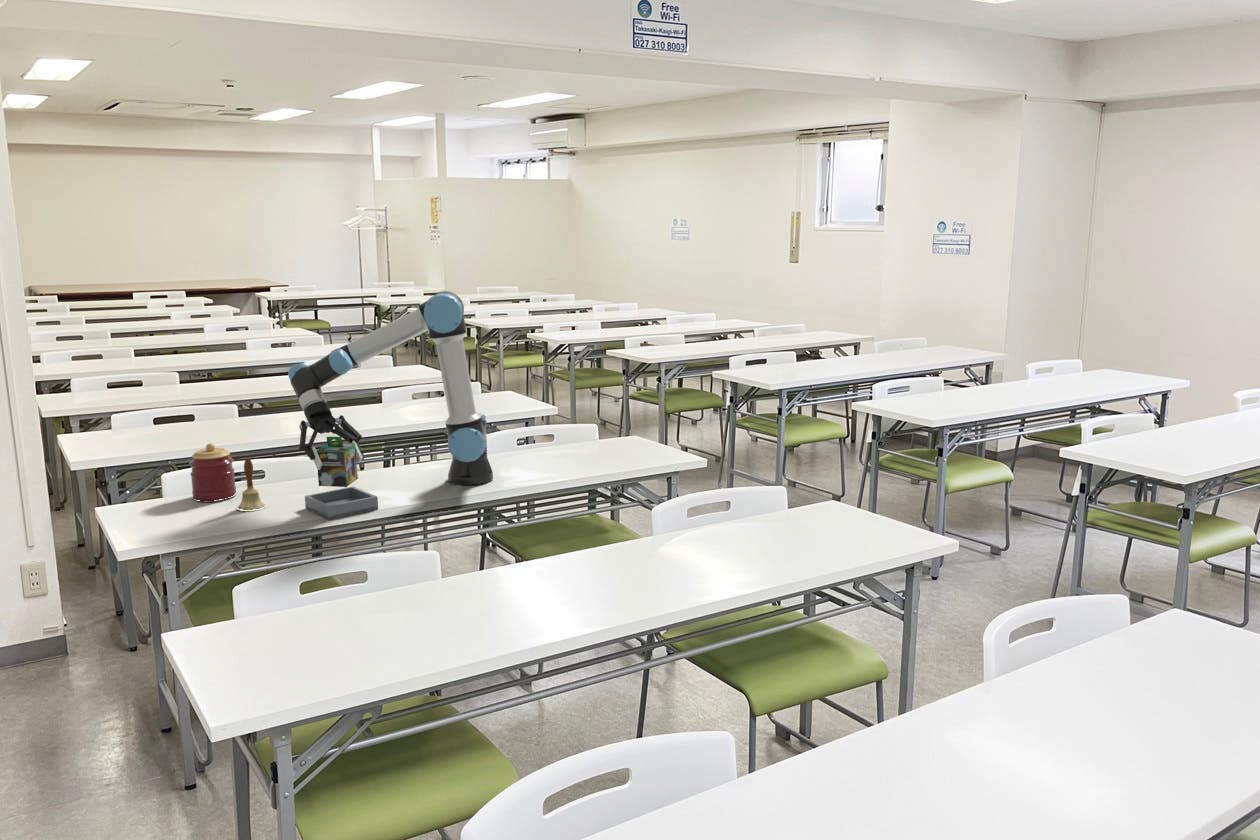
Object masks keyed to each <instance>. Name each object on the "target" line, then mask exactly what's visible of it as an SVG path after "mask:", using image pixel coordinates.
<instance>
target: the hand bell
mask: <svg viewBox="0 0 1260 840" xmlns="http://www.w3.org/2000/svg"><path fill="white" fill-rule="evenodd" d="M243 471H244V474H245V476H246V489H245V490H243V491H242V497H241V502H240V504H239V505H238V506H237V508H239V509H243V510H253V509H260V508H262V507H264V506H265V505H266V504H265V503H264V502H263V501H262V500H261V497H260V494H259V490H258V489H256V488H255V487H254V484H253V473H254V464H253V463H252V460H251V457H245V460H244V464H243Z"/></svg>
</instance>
